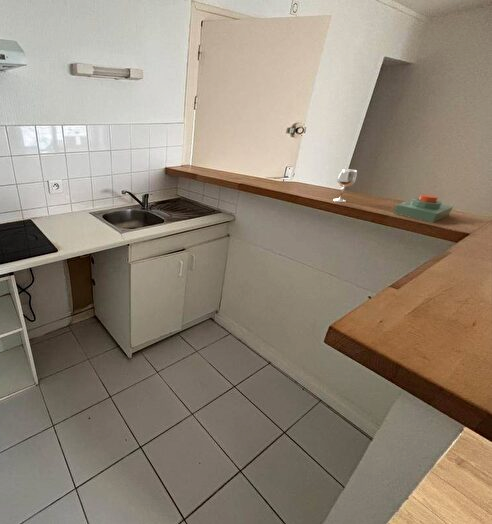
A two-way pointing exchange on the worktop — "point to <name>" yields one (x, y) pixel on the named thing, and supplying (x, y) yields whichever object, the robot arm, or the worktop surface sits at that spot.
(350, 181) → the wineglass
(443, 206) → the green button base
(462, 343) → the worktop surface
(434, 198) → the release button
